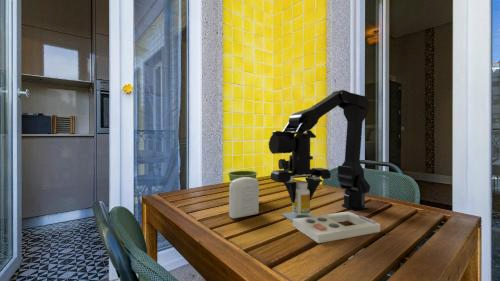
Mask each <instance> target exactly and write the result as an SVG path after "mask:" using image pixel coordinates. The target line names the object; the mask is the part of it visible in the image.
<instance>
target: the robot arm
mask: <svg viewBox="0 0 500 281" xmlns="http://www.w3.org/2000/svg"><path fill="white" fill-rule="evenodd" d="M370 104H371V103H370V100H369V99H368V98H367V97H366V96H365V95H361V94H358V93H353V92H349V91H347V90H345V89H339V90H336V91H332V93H331V94H329V95H328V96H327V97H324V98H322V100H320V101H318V102H317V103H315V104H314V105H312V106H311V107H308V108H306V109H303V110H300V111H297V112H294V113H292V114H290V116H289V119H288V122H287V124H286V125H285V126H284V128H283V129H282V131H281V130H273V131H272V133H271V134H272V135H271V136H270V138H269V141H268V149H269V152H270V153H271V154H273V155H275V154H278V155H279V154H289V159H288V160H286V159H285V158H280V159H278V162H277V164H278V169H279V170H272V171H271V173H270V180H272V181H274V182H276V183H283V185H284V186H285V187H286V190H287V193H288V195H289V199H290V201H291V204H292V203H294V202H295V195H296V182H297V181H295V179H300V178H304V179H305V182H307V183H308V186H307V189H308V190H309V191H310V201H311V200H312V198H313V196H314V195H315V192H316V190H317V189H318V187H319V185H320V184H321V183H323V181H324V180H328V179H331V175H332V174H331V171H330V170H329V169H328V168H323V167H312V168H311V160H313V159H314V156H313V155H311V139H316V138H317V135H315V134H314V133H313V131H312V130H313V128H314V127H315V126H316V125H317V124H318V122H319V120H320V119H321V118H322V117H323V116H324V115H326V114H328V113H329V112H330V111H332V110H334V109H335V108H336V107H338V108H339V109H342V110H343V115H344V118H345V119H346V123H347V124H346V134H345V135H346V137H345V149H344V150H345V151H344V161H343V163H342V164H340V165H338V167H337V174H336V177H337V180H338V182H339V186H340V188H341V189H343V190H344V194H343V203H341V206H342V207H344V208H347V209H350V210H353V211H361V210H367V209H368V208H369V206H366V205H365V201H366V200H365V198H366V197H365V195H366V194H367V193H369V192H370V189H371V185H370V183H368V181H367V180H366V178H365V171H364V170H365V169H364V168H363V166H362V164H361V162H360V160H361V149H362V133H363V122H364V120H365V119H366V117H367V116H368V114H369V109H370Z"/></svg>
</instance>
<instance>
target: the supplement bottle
mask: <svg viewBox="0 0 500 281" xmlns="http://www.w3.org/2000/svg"><path fill="white" fill-rule="evenodd" d="M295 182H296V195H295V202H294V203H292V202H291V204H292V206H291V207H292V212H293V213H294V214H296V215H308V214H309V213H310V212H311V206H310V205H311V204H310V203H311V200H310V191H309V190H308V189H307V186H308V183H307V182H306V181H301V180H300V181H299V180H298V181H295ZM310 214H311V213H310Z"/></svg>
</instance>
